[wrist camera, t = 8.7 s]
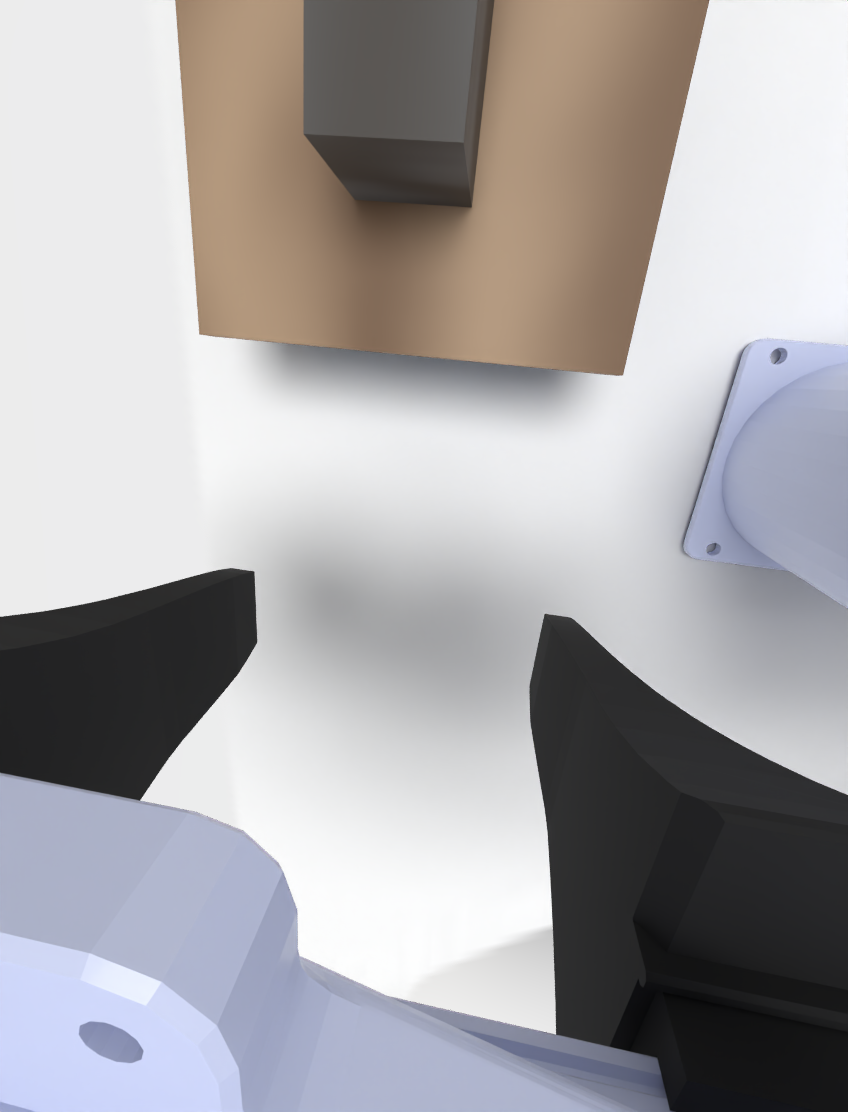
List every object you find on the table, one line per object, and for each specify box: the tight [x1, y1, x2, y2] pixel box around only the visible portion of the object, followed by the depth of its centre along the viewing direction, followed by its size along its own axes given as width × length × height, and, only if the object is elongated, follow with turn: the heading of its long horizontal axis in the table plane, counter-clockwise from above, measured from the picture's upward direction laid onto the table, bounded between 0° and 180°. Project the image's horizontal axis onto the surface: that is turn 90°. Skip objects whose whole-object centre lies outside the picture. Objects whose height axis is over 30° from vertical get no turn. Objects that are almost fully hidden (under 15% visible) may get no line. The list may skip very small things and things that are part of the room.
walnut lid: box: [175, 0, 709, 376], centre depth 10 cm, size 12×12×4 cm
